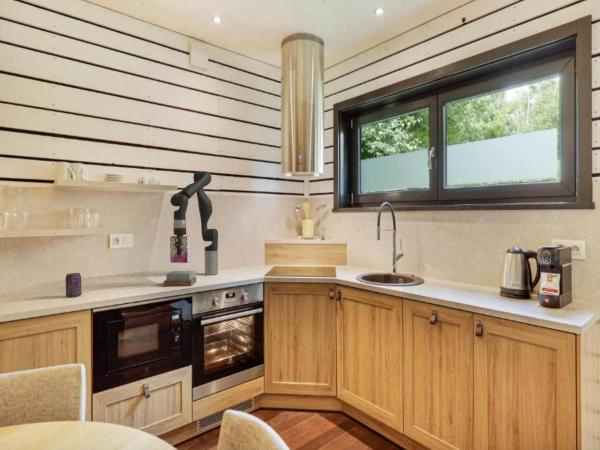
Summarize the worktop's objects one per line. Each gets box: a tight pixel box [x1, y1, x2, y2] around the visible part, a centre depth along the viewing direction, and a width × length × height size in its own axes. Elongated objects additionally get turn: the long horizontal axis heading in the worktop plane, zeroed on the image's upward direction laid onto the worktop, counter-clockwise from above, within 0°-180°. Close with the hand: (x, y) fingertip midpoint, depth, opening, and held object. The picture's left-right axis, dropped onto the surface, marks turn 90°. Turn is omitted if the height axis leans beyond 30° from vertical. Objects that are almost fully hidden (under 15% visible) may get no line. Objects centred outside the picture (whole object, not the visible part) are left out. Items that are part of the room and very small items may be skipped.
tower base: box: [163, 276, 197, 288], centre depth 220 cm, size 14×16×4 cm
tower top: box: [165, 270, 196, 280], centre depth 221 cm, size 11×14×4 cm
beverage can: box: [65, 272, 83, 298], centre depth 188 cm, size 7×7×12 cm
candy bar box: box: [169, 235, 191, 264], centre depth 220 cm, size 11×5×16 cm, turn 84°
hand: (180, 254), depth 220 cm, fingers closed on candy bar box, 5 cm apart
